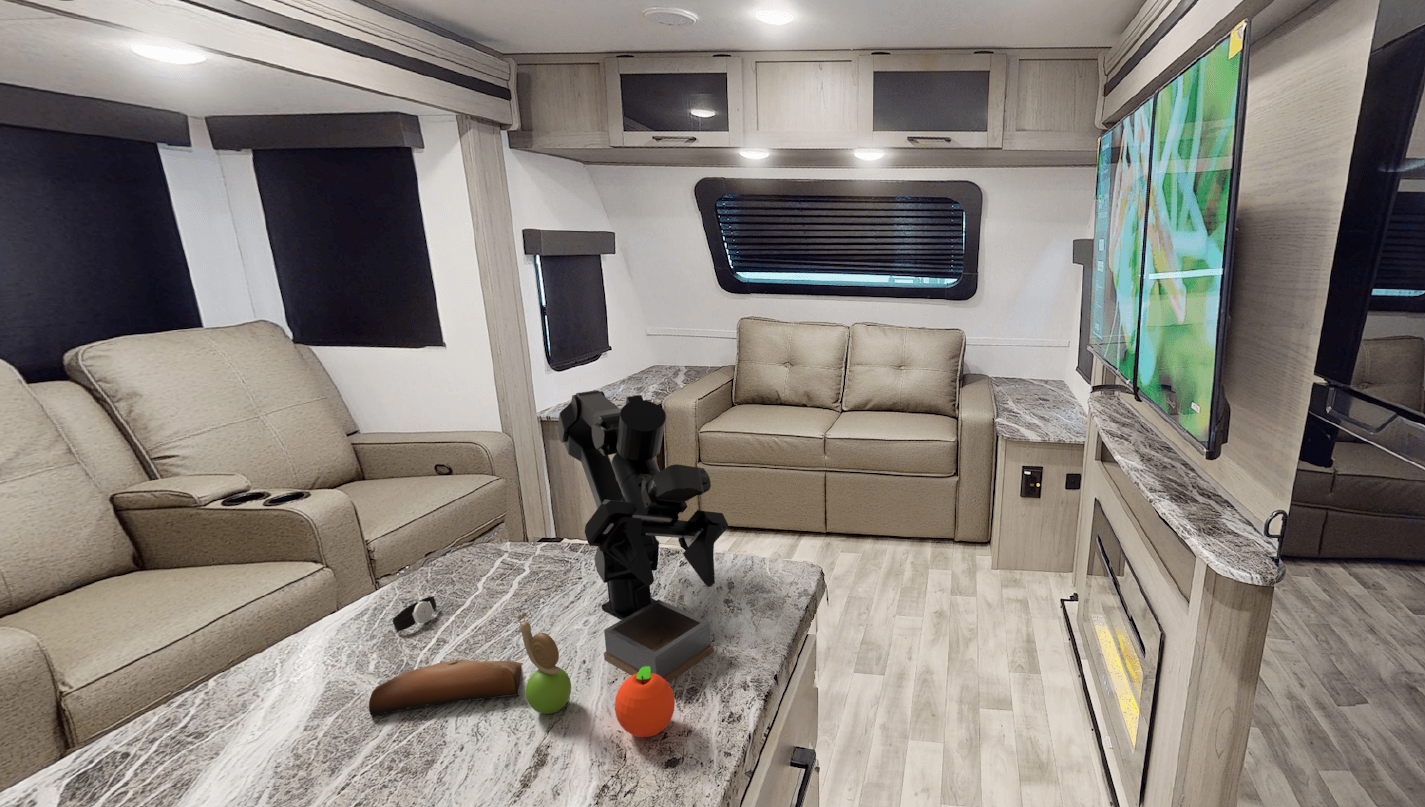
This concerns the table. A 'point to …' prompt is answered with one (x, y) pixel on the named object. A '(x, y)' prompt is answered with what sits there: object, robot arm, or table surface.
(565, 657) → the table surface
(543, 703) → the snail figurine
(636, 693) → the clementine
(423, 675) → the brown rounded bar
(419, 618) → the watch
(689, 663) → the grey planter box
